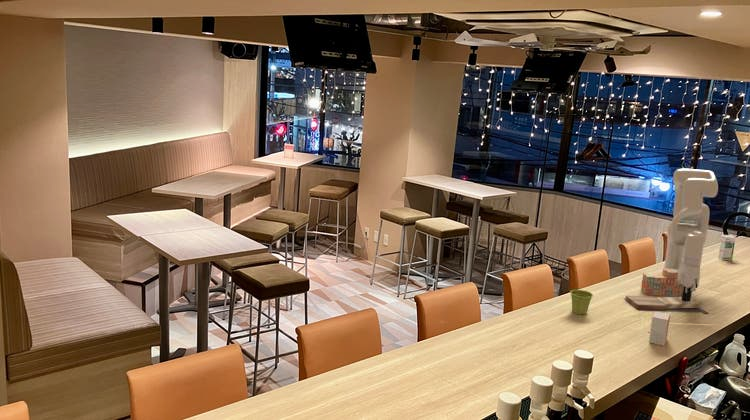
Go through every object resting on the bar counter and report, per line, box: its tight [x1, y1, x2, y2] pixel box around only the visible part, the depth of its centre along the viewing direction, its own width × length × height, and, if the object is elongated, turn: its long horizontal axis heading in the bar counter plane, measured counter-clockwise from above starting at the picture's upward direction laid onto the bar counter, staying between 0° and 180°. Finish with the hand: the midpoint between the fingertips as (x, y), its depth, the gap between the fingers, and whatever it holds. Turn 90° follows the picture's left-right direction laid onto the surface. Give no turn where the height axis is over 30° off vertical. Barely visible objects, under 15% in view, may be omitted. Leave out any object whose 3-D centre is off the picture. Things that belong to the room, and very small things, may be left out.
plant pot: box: [569, 289, 594, 315], centre depth 255 cm, size 9×9×9 cm
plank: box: [655, 296, 702, 309], centre depth 268 cm, size 16×9×2 cm, turn 91°
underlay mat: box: [623, 297, 709, 315], centre depth 268 cm, size 16×31×1 cm, turn 91°
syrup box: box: [718, 234, 736, 261], centre depth 355 cm, size 6×6×14 cm
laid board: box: [624, 295, 667, 310], centre depth 267 cm, size 12×13×2 cm
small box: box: [648, 311, 671, 347], centre depth 227 cm, size 8×6×10 cm
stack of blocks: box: [640, 268, 693, 297], centre depth 284 cm, size 21×6×12 cm, turn 85°
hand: (685, 300), depth 267 cm, fingers closed
